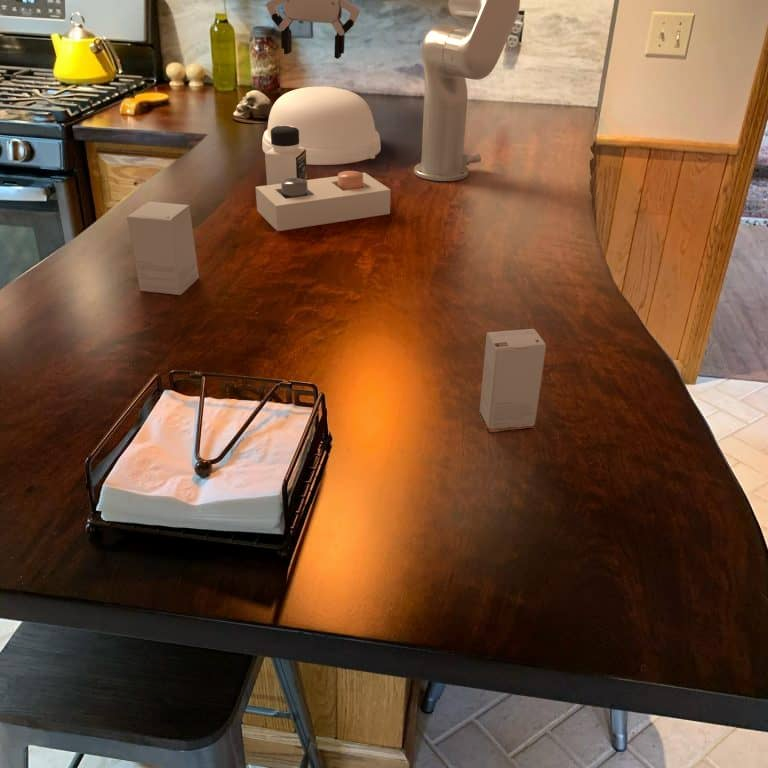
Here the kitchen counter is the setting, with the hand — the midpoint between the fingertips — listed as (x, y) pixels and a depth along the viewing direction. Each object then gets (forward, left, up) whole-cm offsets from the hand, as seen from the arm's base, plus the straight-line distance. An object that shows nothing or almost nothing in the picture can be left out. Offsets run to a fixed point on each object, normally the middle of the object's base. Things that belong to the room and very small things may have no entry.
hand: (312, 55), depth 144 cm
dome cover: (-17, -38, -29) cm, 51 cm away
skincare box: (+9, +83, -29) cm, 88 cm away
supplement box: (+37, +27, -29) cm, 54 cm away
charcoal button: (+7, +6, -26) cm, 27 cm away
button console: (+1, +6, -29) cm, 29 cm away
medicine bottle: (+1, -15, -29) cm, 33 cm away
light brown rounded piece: (-5, +6, -26) cm, 27 cm away
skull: (-10, -72, -29) cm, 78 cm away
